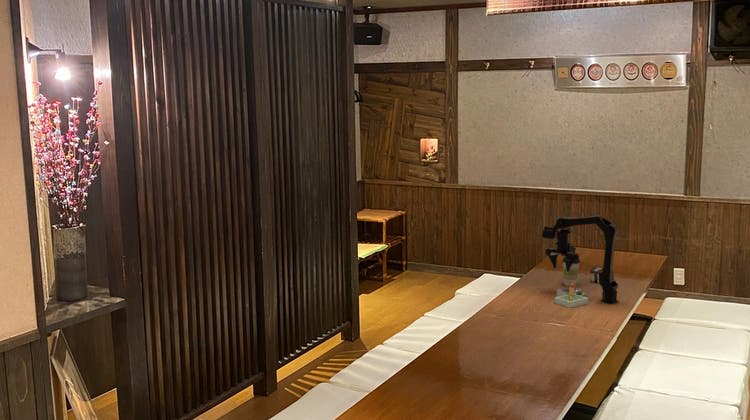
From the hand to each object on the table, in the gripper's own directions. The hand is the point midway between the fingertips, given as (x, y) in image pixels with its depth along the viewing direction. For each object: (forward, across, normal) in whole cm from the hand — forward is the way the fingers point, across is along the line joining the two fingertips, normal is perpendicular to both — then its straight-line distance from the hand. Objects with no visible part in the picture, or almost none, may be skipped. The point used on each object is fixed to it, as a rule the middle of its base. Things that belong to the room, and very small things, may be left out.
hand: (561, 269), depth 379 cm
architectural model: (+14, +8, -37) cm, 40 cm away
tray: (+13, -16, +9) cm, 22 cm away
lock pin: (+12, -16, +9) cm, 22 cm away
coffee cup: (+13, +10, -18) cm, 24 cm away
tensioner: (+13, -6, -2) cm, 14 cm away
